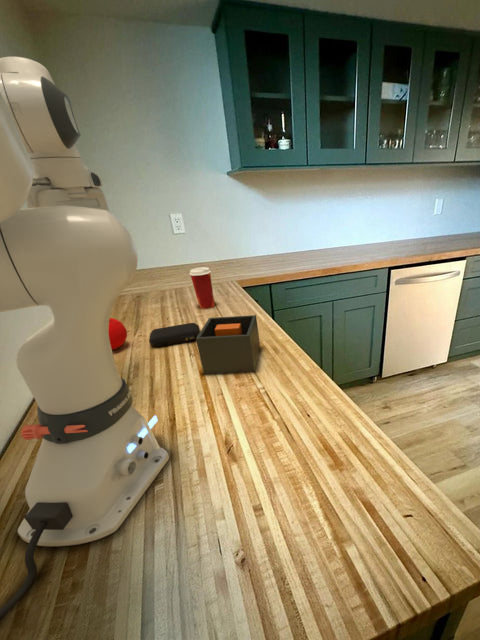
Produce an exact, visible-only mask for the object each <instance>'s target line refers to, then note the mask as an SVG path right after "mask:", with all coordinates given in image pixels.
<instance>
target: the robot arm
mask: <svg viewBox="0 0 480 640" xmlns="http://www.w3.org/2000/svg"><path fill="white" fill-rule="evenodd" d="M80 137H81V133H80V131H79V128H78V124H77V121H76V118H75V115H74V112H73V108H72V104H71V99H70V98H69V96H68V95H67V94H66V93H65V92H64V91H62V90H61V89H60V88H59V86H57V85H56V84H55V82H54V80H53V78H52V75H51V74H50V71H49V70H48V68H47V67H45V66H44V65H43V64H42V63H40V62H38V61H36V60H34V59H31V58H28V57H25V56H17V55H8V56H2V57H0V313H5V312H10V311H11V312H12V311H16V310H21V309H22V310H23V309H28V308H33V307H38V306H41V307H42V306H47V307H49V309H50V310H51V313H52V316H53V317H52V319H51V320H50V321H49V322H48V323H47V324H46V325H45V326H43V327H42V328H40V329H39V330H37V331H36V332H35V333H34V334H32V335H31V336H30V337H28V338H27V339H26V340H25V341H24V342H23V343H22V344H21V346H20V348H19V349H18V351H17V354H16V367H17V370H18V372H19V373H20V375H21V377H22V379H23V380H24V382H25V384H26V386H27V388H28V389H29V391H30V393H31V395H32V397H33V398H34V401H35V402H36V404H37V419H38V423H37V424H24V425H23V426H22V428H20V429H21V430H20V436H21V438H22V440H33V439H36V440H40V439H42V440H41V443H40V446H39V449H38V452H37V454H36V457H35V460H34V462H33V466H32V469H31V472H30V475H29V478H28V480H27V483H26V485H25V488H24V497H25V500H26V503H27V505H28V508H29V509H28V510H27V513H26V514H25V515H24V517H23V520H22V521H21V523H20V524H19V526H18V528H17V534H18V536H19V538H20V539H21V540H22V541H24V542H25V543H27V544H28V545H27V547H26V550H25V555H24V564H25V567H26V570H27V576H26V577H25V580H24V582H23V584H22V585H21V587H20V588H19V590H18V591H17V592H16V593H15V594H14V595H13V596H12V597H11V598H10V600H8V602H6V603H5V604H4V605H3V606H2V607H1V608H0V620H1V619H2V618H3V617H4V616H5V615H6V614H7V613H9V612H10V611H11V609H13V607H14V606H15V605H17V603H18V602H19V601H20V600H21V599H22V598H23V597H24V596H25V594H26V593H27V592H28V591H29V590H30V588H31V586H32V585H33V583H34V581H35V578H36V576H37V571H38V567H37V565H36V562H35V552H36V548H37V546H39V547H67V546H69V547H70V546H76V545H82V544H87V543H91V542H94V541H97V540H101V539H102V538H105V537H107V536H110V535H112V534H113V533H115V532H116V531H118V529H119V528H121V526H122V524H124V522H125V520H126V519H127V517H129V515H130V513H132V511H133V509H134V508H135V506H136V505H138V502H139V501H140V499H141V498H143V495H144V494H145V493H146V491H147V490H148V489H149V487H150V486H151V485H152V483H153V482H154V480H155V479H156V478H157V477H158V475H159V473H160V472H161V471H162V469H163V468H164V467H165V466H166V464H167V462H168V461H169V460H170V454H169V453H168V451H167V450H166V449H164V448H163V447H161V446H160V444H159V443H158V440H157V438H156V437H155V435H154V433H153V430H152V428H153V427H154V426H155V424H156V423H158V417H157V415H154V416H152V418H151V419H150V420H149V422H148V421H147V419H146V418H145V417H144V416H143V415H142V414H141V413H140V412H139V410H138V409H137V408H136V407H135V406H134V404H133V396H132V394H131V390H130V387H129V385H128V384H127V381H126V380H125V379H124V378H123V377H122V376H121V374H120V371H119V369H118V364H117V363H116V360H115V356H114V351H113V350H112V348H111V344H110V339H109V319H110V318H111V315H112V311H113V309H114V306H115V304H116V301H117V300H118V298H119V296H120V295H121V294H122V292H123V291H124V290H125V288H126V287H128V285H129V284H130V283H131V282H132V280H133V278H134V277H135V274H136V272H137V267H138V259H139V258H138V250H137V246H136V243H135V240H134V238H133V236H132V234H131V232H130V231H129V229H128V228H127V227H126V226H125V224H124V223H123V222H122V221H121V219H119V218H118V217H116V215H114V214H113V213H112V212H110V208H109V205H108V201H107V198H106V195H105V193H104V191H103V190H102V189H101V188H103V186H104V185H103V181H102V178H101V176H100V175H99V174H98V173H96V172H94V171H93V170H91V169H90V168H89V167H88V166H86V165H85V164H84V161H83V158H82V155H81V153H80V152H79V150H78V149H77V146H76V144H77V142H78V140H79V139H80ZM25 203H26V208H22V207H23V206H24V204H25Z"/></svg>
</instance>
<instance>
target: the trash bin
mask: <svg viewBox="0 0 480 640" xmlns="http://www.w3.org/2000/svg"><path fill="white" fill-rule="evenodd" d="M238 323H241V329H242V335H230V336H216V335H215V328H216V326H217V325H221V324H238ZM259 333H260V332H259V326H258V320H257V315H256V314H254V315H253V314H252V315H236V316H235V315H234V316H220V317H219V316H218V317H209V318H208V319H207V321H206V322H205V323H204V325H203V327H202V328H201V329H200V333H199V334H198V336H197V337H196V339H195V341H196V345H197V350H198V356H199V359H200V363H201V368H202V371H203V375H215V374H234V373H235V374H236V373H253V372H256V368H257V364H258V363H257V362H258V359H259V355H260V351H261V342H260V336H259Z"/></svg>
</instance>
